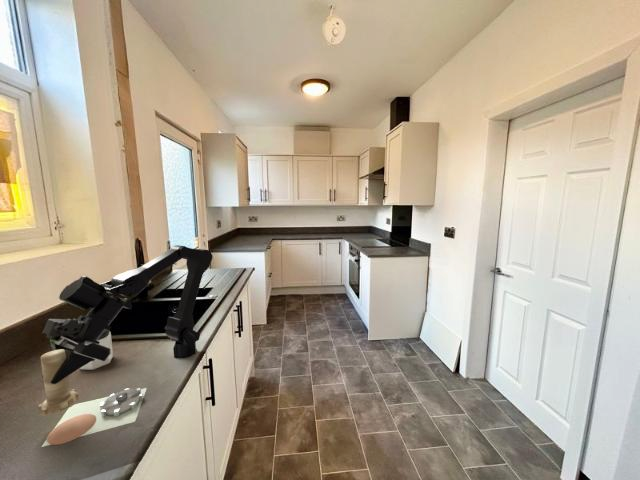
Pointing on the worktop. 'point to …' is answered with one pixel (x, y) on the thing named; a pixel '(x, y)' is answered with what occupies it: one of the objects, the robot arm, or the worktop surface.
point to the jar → (104, 341)
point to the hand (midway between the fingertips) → (48, 380)
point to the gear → (121, 402)
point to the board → (87, 421)
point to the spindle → (56, 385)
